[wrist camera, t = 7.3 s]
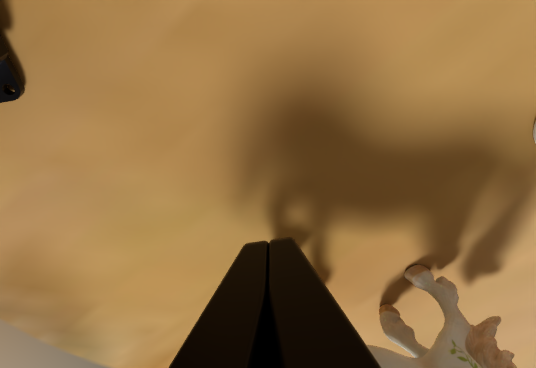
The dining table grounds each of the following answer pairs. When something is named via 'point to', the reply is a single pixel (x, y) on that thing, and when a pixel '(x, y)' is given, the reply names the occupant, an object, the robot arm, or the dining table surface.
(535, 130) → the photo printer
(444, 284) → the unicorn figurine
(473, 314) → the dining table surface
